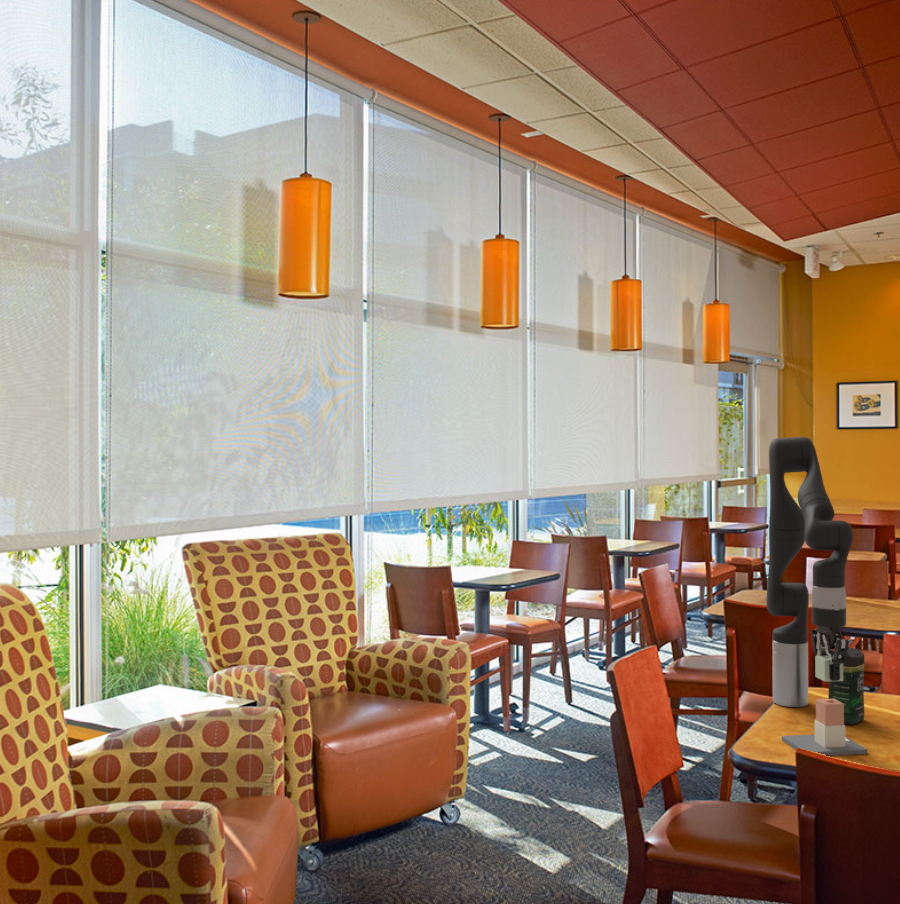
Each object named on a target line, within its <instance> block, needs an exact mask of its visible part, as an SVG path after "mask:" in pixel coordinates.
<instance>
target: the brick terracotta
mask: <svg viewBox="0 0 900 904" xmlns="http://www.w3.org/2000/svg"><path fill="white" fill-rule="evenodd" d="M815 720H817V721H818V722H820V723H821V724H823V725H825V726H836V725H845V724H844V704H843V703H841V702H839V701H838V700H836V699H828V698H816V699H815Z"/></svg>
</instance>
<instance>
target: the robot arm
mask: <svg viewBox="0 0 900 904" xmlns="http://www.w3.org/2000/svg"><path fill="white" fill-rule="evenodd" d="M768 467H769V468H768V469H769V484H770V485H769V488H770V499H769V501H770V503H769V504H770V505H769V522H768V545H769V546H768V551H769V552H768V554H769V555H768V556H769V558H768V559H769V561H768V574H767V587H766V609H767V612H768V613H769V614H770V615H771V616H773V617H776V616H777V617H792V618H793V617H794V619H793V621H791V622H789V623H787V624H785V625H782V626H779V627H775V628H774V629H773V631H772V636H771V637H772V638H771V639H772V703H774V704H775V703H776V705H777V706H781V707H782V706H783V707H790V708H802V707H806V706H808V705H809V636H808V634H809V633H808V632H809V631H808V630H809V629H808V628H809V627H808V626H809V623H808V622H809V607H810V606H809V605H810V601H809V600H810V598H809V594H810V593H809V589H808V587H807V585H806V584H805V583H803V582H781V581H782V578H783V575H784V572H785V571H786V569H787V567H788V566H789V565H790V563H791V562H792V561H793V560H794V558H795V557H796V556H797V555H798V554H799V552H800V551H801V549H802V548H803V546H804V544H806V545H807V546H808V548H809V549H811V550H813V551H833V552H832V553H831V555H830V557H827V558H825V559H824V558H823V559H820V560H817V561H815V562H813V564H812V589H811V624H812V625H813V626H816V627H817V628H814V629H813V628H811V629H810V639H811V643H812V644H811V645H812V651H813V655H816V656H826V655H828V656H829V662H830V664H829V671H830V680H832V681H838V680H840V664H842V663H846V657H847V651H848V648H849V645H850V644H849V642H850V641H849V640H848V639H845V638H843V637H842V631H841V629H842V628H844V627H846V625H847V594H846V593H847V592H846V585H845V584H846V582H845V580H846V579H845V578H846V576H845V575H846V574H845V573H846V567H847V560H848V557H849V553H850V551H851V547H852V544H853V540H854V534H853V533H854V532H853V529H852V526H851V524H849V522H847V521H846V520H841V519H840V520H834V518H835V509H834V506H833V504H832V502H831V500H830V497H829V495H828V493H827V491H826V488H825V485H824V480H823V475H822V471H821V466H820V462H819V459H818V455H817V451H816V448H815V445H814V443H813V441H812V440H811V439H810V438H809V437H807V436H806V437H805V436H796V437H794V436H793V437H779V438H774V439H772V440H771V441H770V444H769V449H768ZM803 472H804V473H806V475H805V477H804V479H803V482H802V483H801V485H800V486H799V489H798V492H797V501H796V500H795V499H794V497H793V496H792V495H791V493H790V492H789V489H788V487H787V485H786V482H785V474H789V473H791V474H792V473H803ZM797 502H798V503H797ZM833 654H834V658H833ZM841 655H842V658H841Z"/></svg>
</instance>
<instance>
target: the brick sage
mask: <svg viewBox="0 0 900 904" xmlns="http://www.w3.org/2000/svg"><path fill="white" fill-rule="evenodd" d="M833 658H834V655H833ZM814 661H815V663H814V665H815V666H814V667H815V670H814V673H815V678H817V679H819V680H820V681H823V682H829V681H832V680H830V671H829V664H830V662H829V656H828V655H826V656H817V655H814ZM838 681H843V663H842V664H840V680H838Z"/></svg>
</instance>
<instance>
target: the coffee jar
mask: <svg viewBox="0 0 900 904" xmlns="http://www.w3.org/2000/svg"><path fill="white" fill-rule="evenodd" d="M833 655H834V654H833ZM841 658H842V655H841ZM865 664H866V663H865V654H864V652H863V651H861V649H859V648H854V647H848V651H847V657H846V663H843V681H828V695H827V696H828V698H827V699H836V700H838V701H839V702H841V703H843V704H844V725H856V724H859V723H861V722H863V720H864V719H865V695H864V693H865V692H864V690H865V689H864V688H865V687H864V686H865V685H864V683H865V682H864V681H865V680H864V674H865Z"/></svg>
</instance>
